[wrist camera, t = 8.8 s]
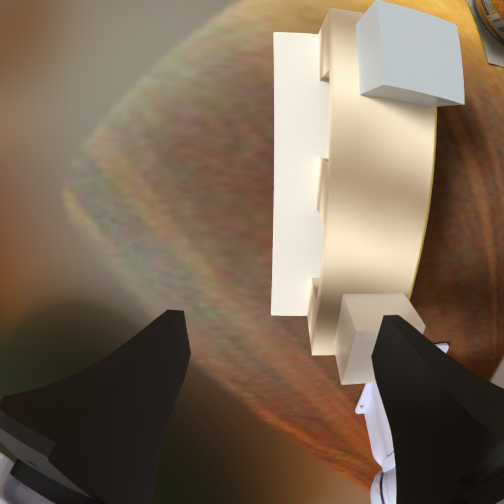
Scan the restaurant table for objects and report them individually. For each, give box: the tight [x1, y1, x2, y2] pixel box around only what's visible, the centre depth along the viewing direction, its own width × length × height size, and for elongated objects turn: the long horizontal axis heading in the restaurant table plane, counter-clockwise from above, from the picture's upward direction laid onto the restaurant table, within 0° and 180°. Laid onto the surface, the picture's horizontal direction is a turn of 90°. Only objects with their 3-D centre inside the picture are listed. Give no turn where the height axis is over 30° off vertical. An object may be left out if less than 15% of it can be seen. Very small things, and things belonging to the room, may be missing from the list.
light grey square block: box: [356, 0, 465, 107], centre depth 8 cm, size 4×4×3 cm
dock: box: [271, 32, 437, 316], centre depth 17 cm, size 18×10×2 cm, turn 0°
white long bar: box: [307, 8, 435, 355], centre depth 14 cm, size 18×5×4 cm, turn 0°
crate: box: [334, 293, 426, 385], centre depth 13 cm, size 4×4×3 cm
